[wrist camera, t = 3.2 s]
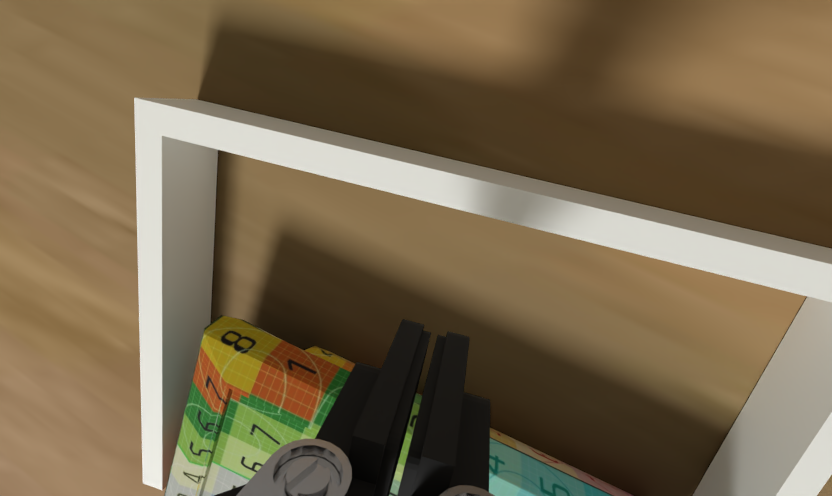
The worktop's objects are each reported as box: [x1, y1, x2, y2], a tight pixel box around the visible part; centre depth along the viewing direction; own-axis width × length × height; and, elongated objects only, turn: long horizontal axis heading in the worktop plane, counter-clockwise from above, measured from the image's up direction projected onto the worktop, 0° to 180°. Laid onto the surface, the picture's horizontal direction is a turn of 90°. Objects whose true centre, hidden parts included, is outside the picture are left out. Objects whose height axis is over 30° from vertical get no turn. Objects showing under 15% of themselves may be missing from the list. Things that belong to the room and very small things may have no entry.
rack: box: [134, 98, 832, 496], centre depth 17 cm, size 24×17×3 cm
